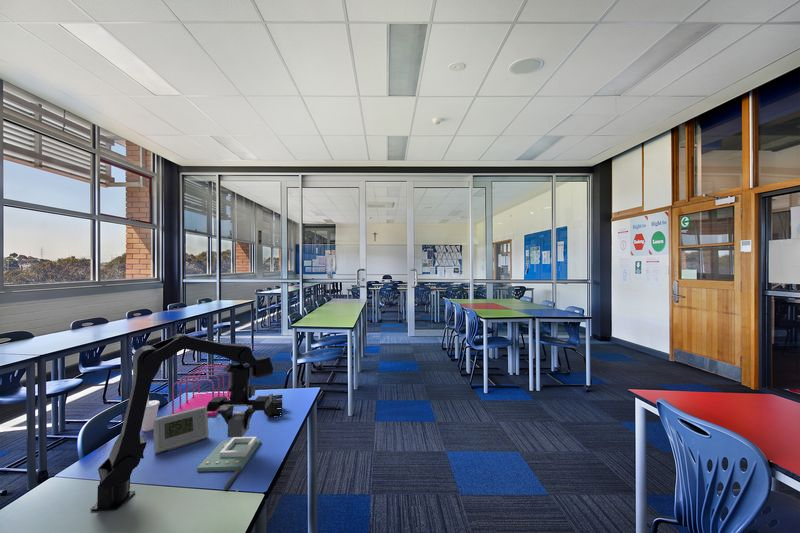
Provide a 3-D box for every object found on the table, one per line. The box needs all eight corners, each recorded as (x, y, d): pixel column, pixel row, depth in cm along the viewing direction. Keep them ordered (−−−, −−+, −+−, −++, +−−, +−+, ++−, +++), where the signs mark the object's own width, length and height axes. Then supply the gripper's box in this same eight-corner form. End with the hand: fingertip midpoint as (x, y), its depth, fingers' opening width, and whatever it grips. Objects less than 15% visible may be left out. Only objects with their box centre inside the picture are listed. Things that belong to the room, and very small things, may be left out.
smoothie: (133, 431, 120) (134, 394, 120) (150, 423, 126) (151, 388, 126) (146, 434, 118) (147, 396, 119) (163, 425, 125) (164, 390, 125)
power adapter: (265, 409, 140) (265, 394, 141) (282, 407, 143) (282, 392, 143) (263, 419, 131) (263, 402, 131) (281, 417, 133) (281, 400, 133)
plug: (241, 437, 104) (242, 418, 104) (227, 437, 104) (228, 418, 104) (249, 428, 110) (249, 410, 110) (235, 428, 110) (236, 411, 110)
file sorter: (168, 419, 130) (169, 381, 131) (197, 396, 155) (198, 363, 155) (214, 417, 133) (215, 379, 133) (235, 394, 158) (236, 362, 158)
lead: (227, 490, 88) (227, 486, 88) (223, 490, 88) (223, 486, 88) (245, 464, 100) (245, 461, 100) (242, 464, 100) (242, 461, 100)
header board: (241, 470, 97) (241, 461, 97) (197, 471, 96) (197, 462, 96) (260, 442, 113) (260, 434, 113) (223, 443, 112) (223, 435, 112)
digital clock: (151, 456, 104) (152, 423, 104) (154, 443, 112) (155, 413, 112) (208, 442, 113) (209, 412, 113) (208, 431, 121) (208, 403, 121)
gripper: (275, 374, 116) (275, 417, 115) (223, 375, 115) (222, 418, 114) (264, 385, 105) (263, 433, 104) (206, 385, 104) (205, 434, 103)
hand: (238, 429), depth 107 cm, fingers closed on plug, 4 cm apart
